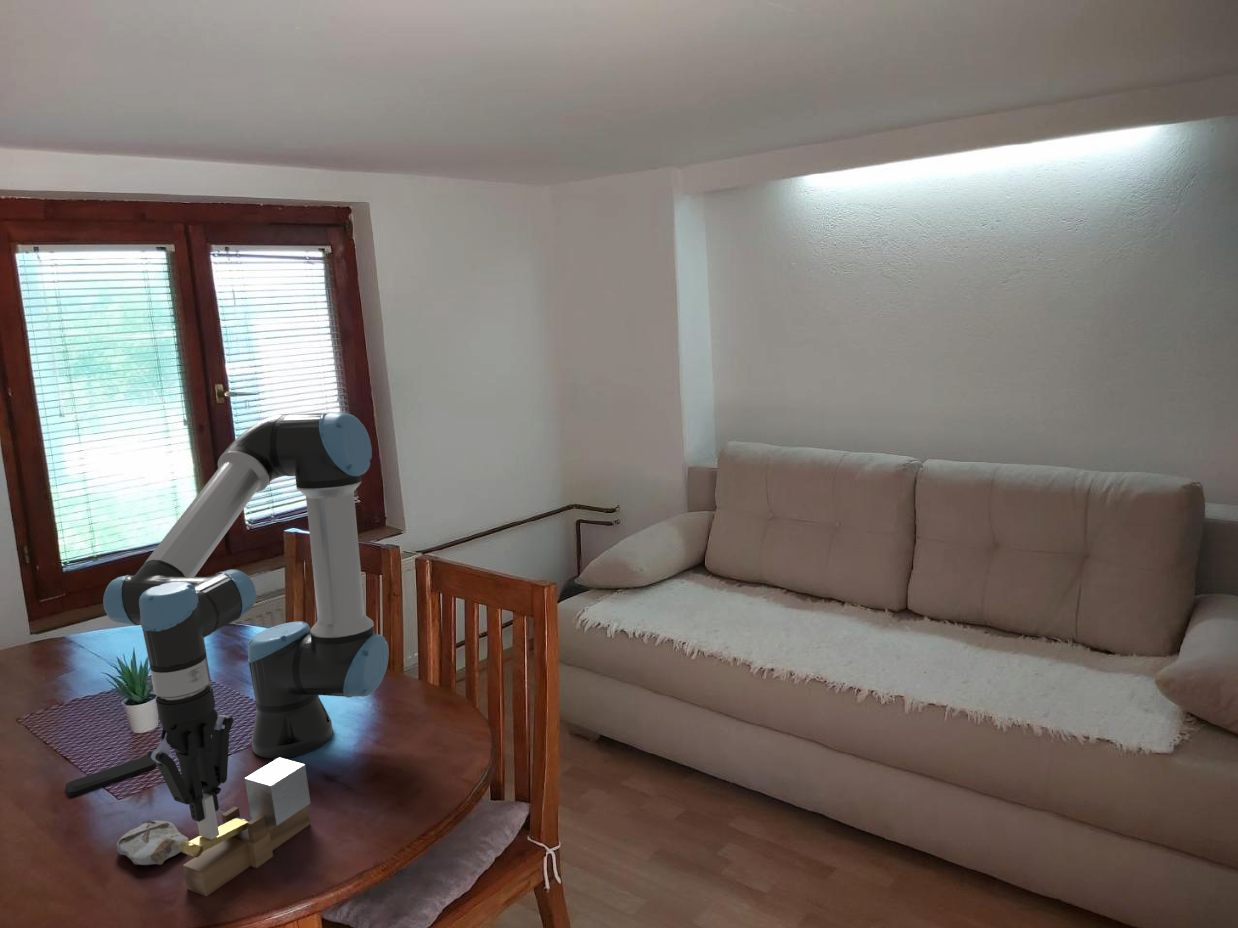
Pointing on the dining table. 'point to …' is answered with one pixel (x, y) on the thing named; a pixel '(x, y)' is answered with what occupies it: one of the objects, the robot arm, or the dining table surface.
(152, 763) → the remote control
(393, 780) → the dining table surface
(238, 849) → the tan wooden beam joint
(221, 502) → the robot arm
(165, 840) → the stone
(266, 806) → the brushed steel cube
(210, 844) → the lever
